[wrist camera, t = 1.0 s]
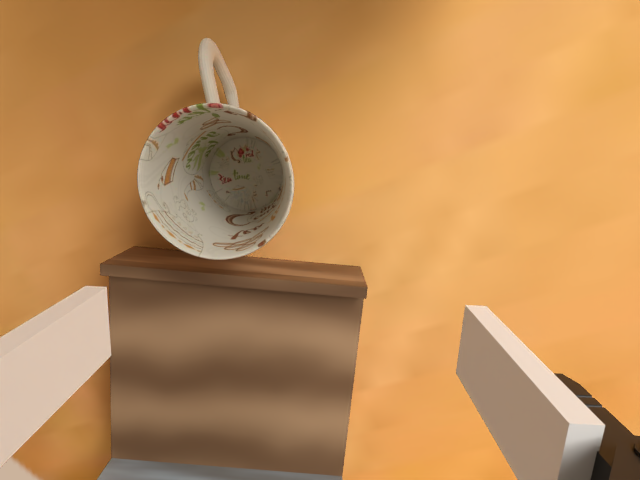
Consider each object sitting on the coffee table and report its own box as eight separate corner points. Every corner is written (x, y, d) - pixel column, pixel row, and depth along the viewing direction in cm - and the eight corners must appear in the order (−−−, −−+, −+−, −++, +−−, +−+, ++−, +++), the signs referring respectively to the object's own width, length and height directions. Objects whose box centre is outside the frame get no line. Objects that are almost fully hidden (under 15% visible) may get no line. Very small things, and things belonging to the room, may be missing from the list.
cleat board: (133, 246, 33) (-135, 384, 14) (360, 266, 33) (417, 429, 14) (133, 440, 37) (-78, 770, 17) (337, 456, 37) (358, 797, 18)
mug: (206, 236, 33) (159, 272, 23) (165, 69, 30) (92, 31, 21) (310, 217, 33) (307, 246, 23) (278, 47, 30) (258, -3, 20)
